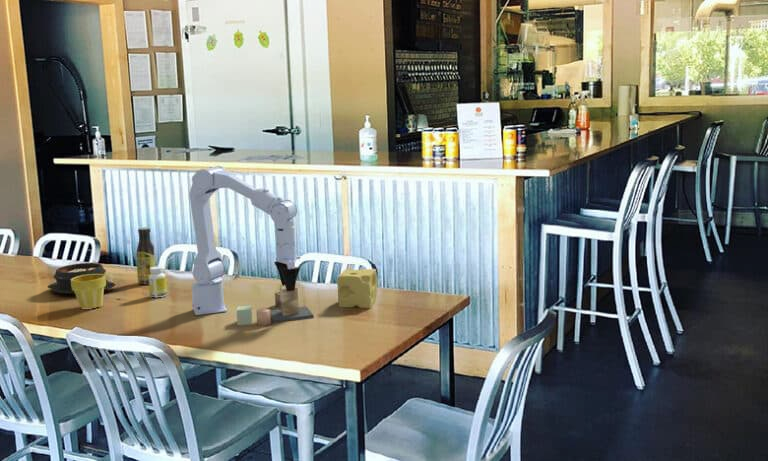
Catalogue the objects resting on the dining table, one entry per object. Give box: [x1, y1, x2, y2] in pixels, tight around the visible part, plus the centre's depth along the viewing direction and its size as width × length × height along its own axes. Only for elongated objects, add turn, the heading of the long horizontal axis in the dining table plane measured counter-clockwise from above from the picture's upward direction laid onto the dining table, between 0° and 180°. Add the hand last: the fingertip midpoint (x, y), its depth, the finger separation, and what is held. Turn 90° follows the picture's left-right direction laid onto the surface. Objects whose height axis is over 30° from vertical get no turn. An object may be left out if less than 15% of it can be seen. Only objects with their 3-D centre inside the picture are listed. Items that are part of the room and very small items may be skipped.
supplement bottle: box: [148, 265, 168, 298], centre depth 260 cm, size 5×5×10 cm
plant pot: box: [71, 274, 107, 309], centre depth 250 cm, size 10×10×10 cm
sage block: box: [236, 305, 253, 326], centre depth 228 cm, size 4×4×4 cm
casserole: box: [47, 262, 116, 295], centre depth 272 cm, size 25×19×8 cm
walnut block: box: [274, 291, 281, 309], centre depth 244 cm, size 4×4×4 cm
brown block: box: [255, 308, 272, 327], centre depth 226 cm, size 4×4×4 cm
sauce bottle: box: [135, 226, 156, 285], centre depth 278 cm, size 7×6×20 cm
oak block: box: [279, 284, 300, 316], centre depth 233 cm, size 4×4×8 cm
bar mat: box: [270, 305, 314, 324], centre depth 233 cm, size 12×10×1 cm
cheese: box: [336, 268, 378, 309], centre depth 243 cm, size 10×11×10 cm
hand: (288, 287), depth 232 cm, fingers open, 7 cm apart
